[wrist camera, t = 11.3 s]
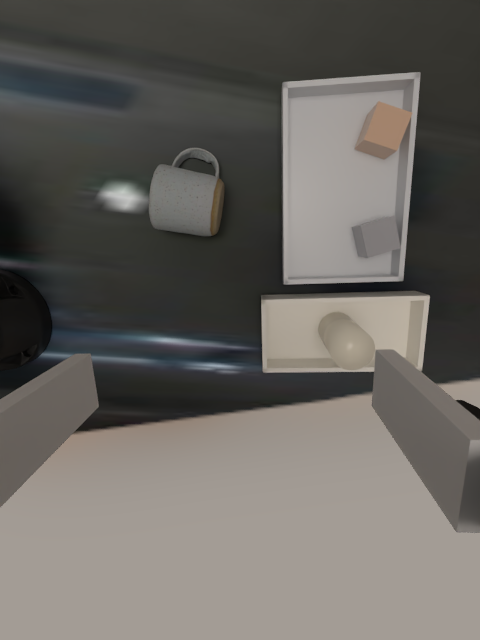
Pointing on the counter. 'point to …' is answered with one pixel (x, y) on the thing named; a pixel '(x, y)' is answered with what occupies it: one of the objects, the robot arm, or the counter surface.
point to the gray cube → (376, 237)
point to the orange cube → (383, 130)
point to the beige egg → (346, 341)
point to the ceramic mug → (187, 197)
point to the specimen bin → (362, 307)
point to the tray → (341, 177)
